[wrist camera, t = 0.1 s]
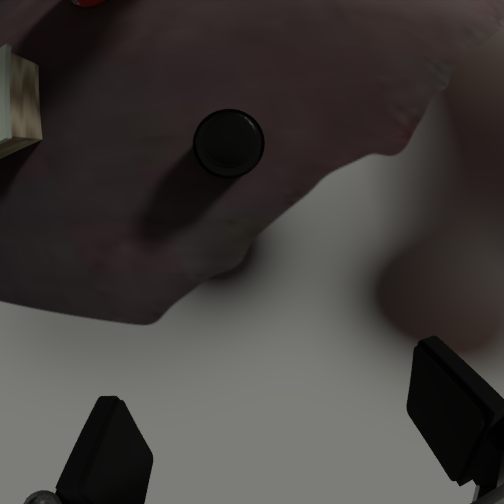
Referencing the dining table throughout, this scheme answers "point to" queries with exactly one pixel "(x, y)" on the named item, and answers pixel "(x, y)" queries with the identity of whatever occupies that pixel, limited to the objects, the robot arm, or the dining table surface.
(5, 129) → the lid
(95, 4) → the canned food
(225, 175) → the supplement bottle
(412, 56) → the dining table surface
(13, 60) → the pine box
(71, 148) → the dining table surface
